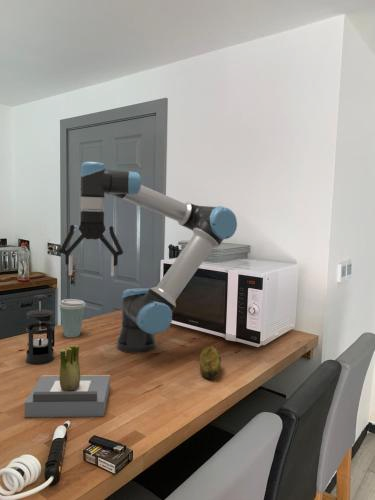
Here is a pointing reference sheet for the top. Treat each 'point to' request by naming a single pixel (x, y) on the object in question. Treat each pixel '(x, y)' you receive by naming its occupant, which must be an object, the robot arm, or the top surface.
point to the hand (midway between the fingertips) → (91, 275)
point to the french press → (40, 347)
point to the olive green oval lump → (210, 362)
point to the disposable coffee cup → (72, 316)
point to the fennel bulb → (70, 369)
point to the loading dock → (68, 397)
